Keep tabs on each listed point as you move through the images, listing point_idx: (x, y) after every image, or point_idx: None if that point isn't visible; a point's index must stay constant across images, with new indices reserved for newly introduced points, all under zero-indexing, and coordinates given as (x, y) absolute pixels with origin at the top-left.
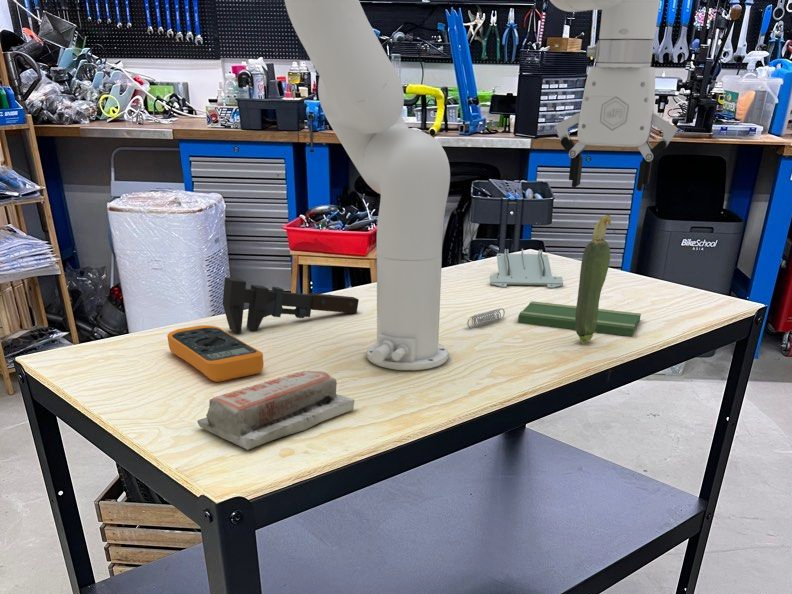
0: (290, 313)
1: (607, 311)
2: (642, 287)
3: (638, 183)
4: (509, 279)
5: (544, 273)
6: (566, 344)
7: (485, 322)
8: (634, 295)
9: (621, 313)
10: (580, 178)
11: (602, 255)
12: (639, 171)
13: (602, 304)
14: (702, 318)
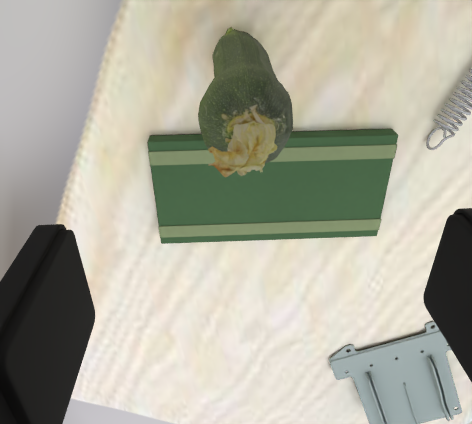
0: None
1: (223, 227)
2: (204, 397)
3: (51, 250)
4: (424, 344)
5: (367, 376)
6: (269, 13)
7: (467, 75)
8: (207, 359)
9: (194, 225)
10: (437, 318)
11: (219, 83)
12: (27, 305)
13: (247, 299)
14: None
